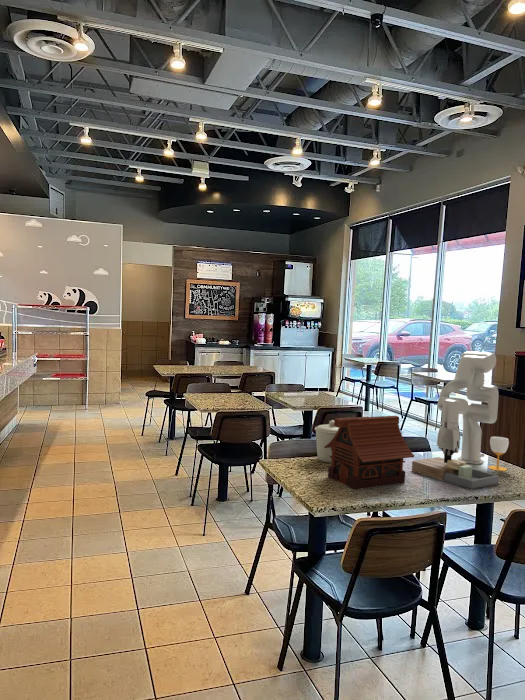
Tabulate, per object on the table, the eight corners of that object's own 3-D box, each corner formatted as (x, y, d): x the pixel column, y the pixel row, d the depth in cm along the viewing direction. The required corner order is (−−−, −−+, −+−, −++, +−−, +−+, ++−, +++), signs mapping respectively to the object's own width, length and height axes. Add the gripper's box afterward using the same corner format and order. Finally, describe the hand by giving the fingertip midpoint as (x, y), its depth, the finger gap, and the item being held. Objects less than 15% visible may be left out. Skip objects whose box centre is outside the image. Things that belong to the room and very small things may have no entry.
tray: (469, 476, 252) (470, 467, 252) (498, 484, 239) (498, 475, 239) (443, 481, 241) (443, 472, 241) (471, 490, 228) (472, 481, 228)
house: (373, 469, 257) (376, 410, 256) (415, 485, 232) (419, 420, 231) (314, 475, 240) (318, 413, 239) (354, 494, 215) (357, 424, 214)
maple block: (454, 464, 251) (454, 458, 251) (465, 468, 246) (466, 462, 246) (446, 466, 248) (447, 460, 247) (457, 470, 243) (458, 463, 242)
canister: (342, 467, 257) (344, 425, 256) (308, 461, 265) (310, 420, 264) (352, 459, 273) (354, 420, 273) (319, 454, 281) (321, 416, 280)
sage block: (466, 464, 246) (472, 466, 243) (465, 477, 246) (471, 479, 243) (458, 466, 242) (464, 467, 240) (458, 479, 242) (463, 480, 240)
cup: (503, 467, 273) (505, 436, 272) (509, 471, 264) (511, 440, 263) (485, 465, 274) (487, 435, 273) (491, 470, 265) (493, 439, 264)
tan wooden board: (438, 466, 267) (438, 457, 267) (468, 475, 252) (469, 465, 252) (411, 470, 256) (412, 460, 256) (442, 480, 241) (442, 470, 241)
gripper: (432, 422, 254) (429, 459, 255) (458, 428, 242) (455, 467, 242) (442, 422, 258) (439, 458, 259) (468, 427, 246) (465, 465, 246)
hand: (447, 462), depth 251 cm, fingers closed
